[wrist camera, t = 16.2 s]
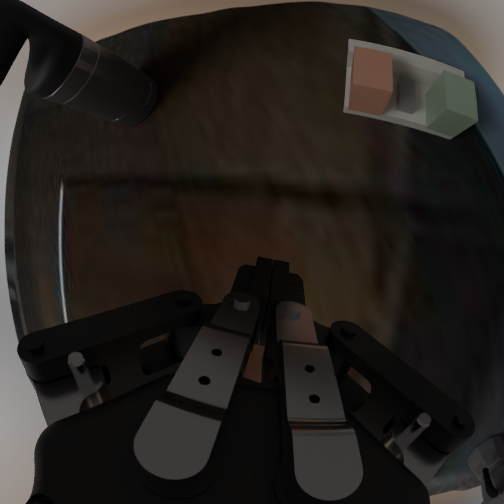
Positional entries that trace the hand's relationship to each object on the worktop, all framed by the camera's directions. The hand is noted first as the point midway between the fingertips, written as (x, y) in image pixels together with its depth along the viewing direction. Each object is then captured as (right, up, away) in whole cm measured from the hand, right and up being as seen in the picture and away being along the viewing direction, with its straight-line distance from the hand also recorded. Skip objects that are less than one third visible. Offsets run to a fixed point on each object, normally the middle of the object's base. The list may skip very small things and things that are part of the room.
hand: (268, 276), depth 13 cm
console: (+18, +20, +15) cm, 31 cm away
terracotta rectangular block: (+13, +20, +14) cm, 28 cm away
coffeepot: (+46, -39, +15) cm, 62 cm away
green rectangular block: (+22, +18, +12) cm, 31 cm away
